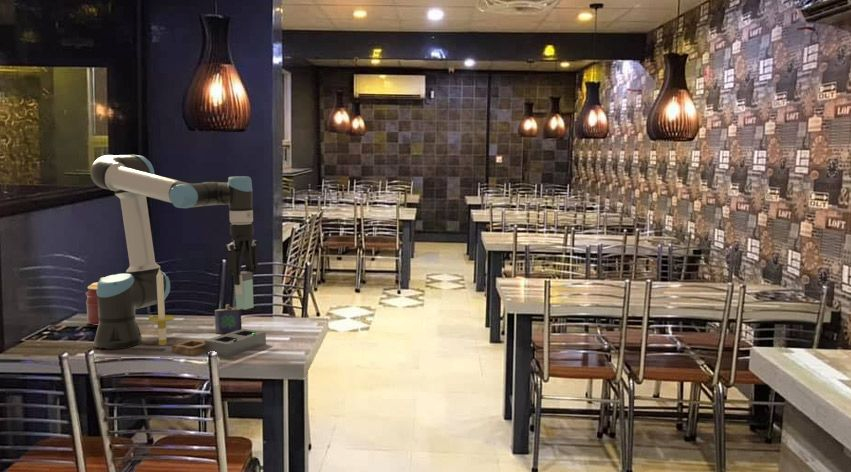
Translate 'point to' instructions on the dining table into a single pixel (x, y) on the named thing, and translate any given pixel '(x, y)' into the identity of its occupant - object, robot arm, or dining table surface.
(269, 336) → the dining table surface
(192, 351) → the square wooden tray
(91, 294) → the canister
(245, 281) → the green square bottle
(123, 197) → the robot arm
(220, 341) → the port panel
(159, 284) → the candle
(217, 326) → the flask
